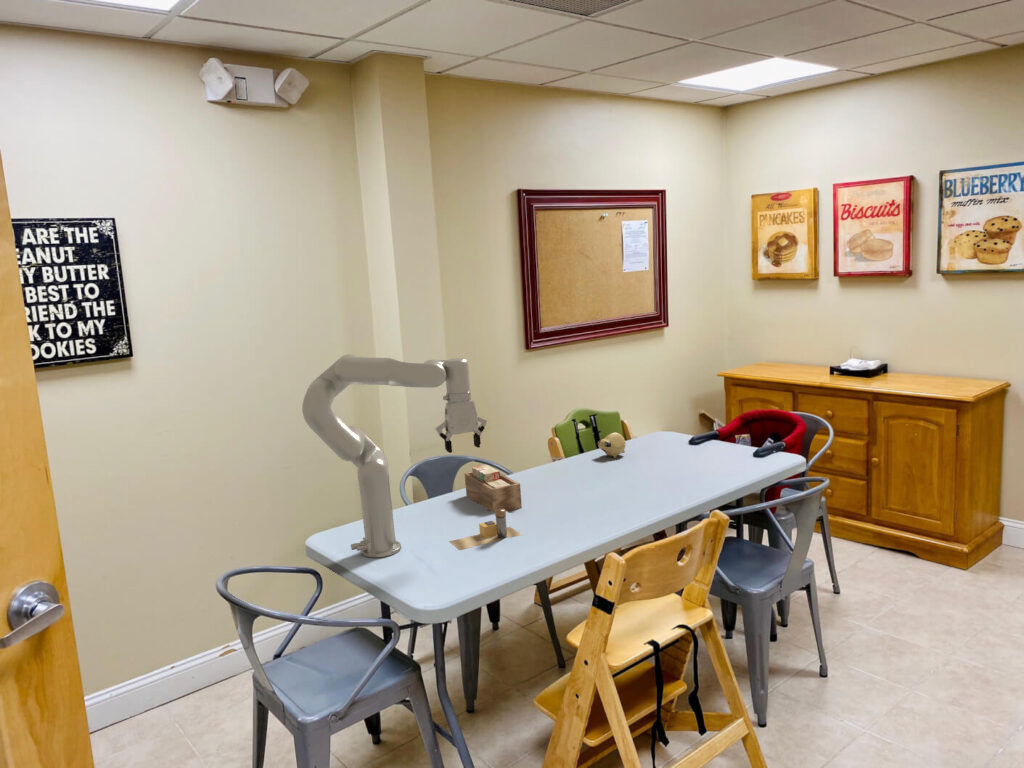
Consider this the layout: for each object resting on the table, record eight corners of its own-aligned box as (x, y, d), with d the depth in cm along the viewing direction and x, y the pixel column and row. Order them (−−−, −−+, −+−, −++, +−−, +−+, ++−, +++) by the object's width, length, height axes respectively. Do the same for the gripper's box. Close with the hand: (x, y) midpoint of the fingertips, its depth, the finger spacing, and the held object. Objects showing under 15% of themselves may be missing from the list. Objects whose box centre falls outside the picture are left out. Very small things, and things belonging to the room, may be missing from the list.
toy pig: (594, 456, 337) (593, 433, 335) (616, 451, 342) (615, 428, 341) (608, 461, 328) (607, 437, 326) (630, 456, 334) (629, 432, 332)
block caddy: (494, 513, 272) (492, 489, 270) (466, 495, 295) (464, 473, 293) (521, 507, 276) (520, 483, 275) (492, 490, 299) (490, 468, 298)
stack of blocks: (512, 509, 276) (510, 476, 274) (497, 512, 273) (494, 479, 271) (489, 494, 295) (486, 463, 293) (474, 497, 292) (471, 466, 290)
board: (459, 553, 237) (459, 550, 237) (449, 544, 245) (449, 541, 245) (522, 538, 247) (522, 534, 246) (510, 530, 255) (510, 526, 254)
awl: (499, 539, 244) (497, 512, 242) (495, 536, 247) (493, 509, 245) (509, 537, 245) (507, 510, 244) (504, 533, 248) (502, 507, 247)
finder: (484, 537, 246) (483, 526, 246) (479, 533, 250) (479, 522, 249) (498, 534, 248) (497, 523, 248) (493, 530, 252) (492, 519, 251)
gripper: (437, 403, 235) (442, 456, 237) (488, 395, 242) (492, 447, 245) (429, 399, 241) (434, 451, 244) (479, 392, 249) (483, 442, 251)
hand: (463, 449), depth 244 cm, fingers open, 9 cm apart
